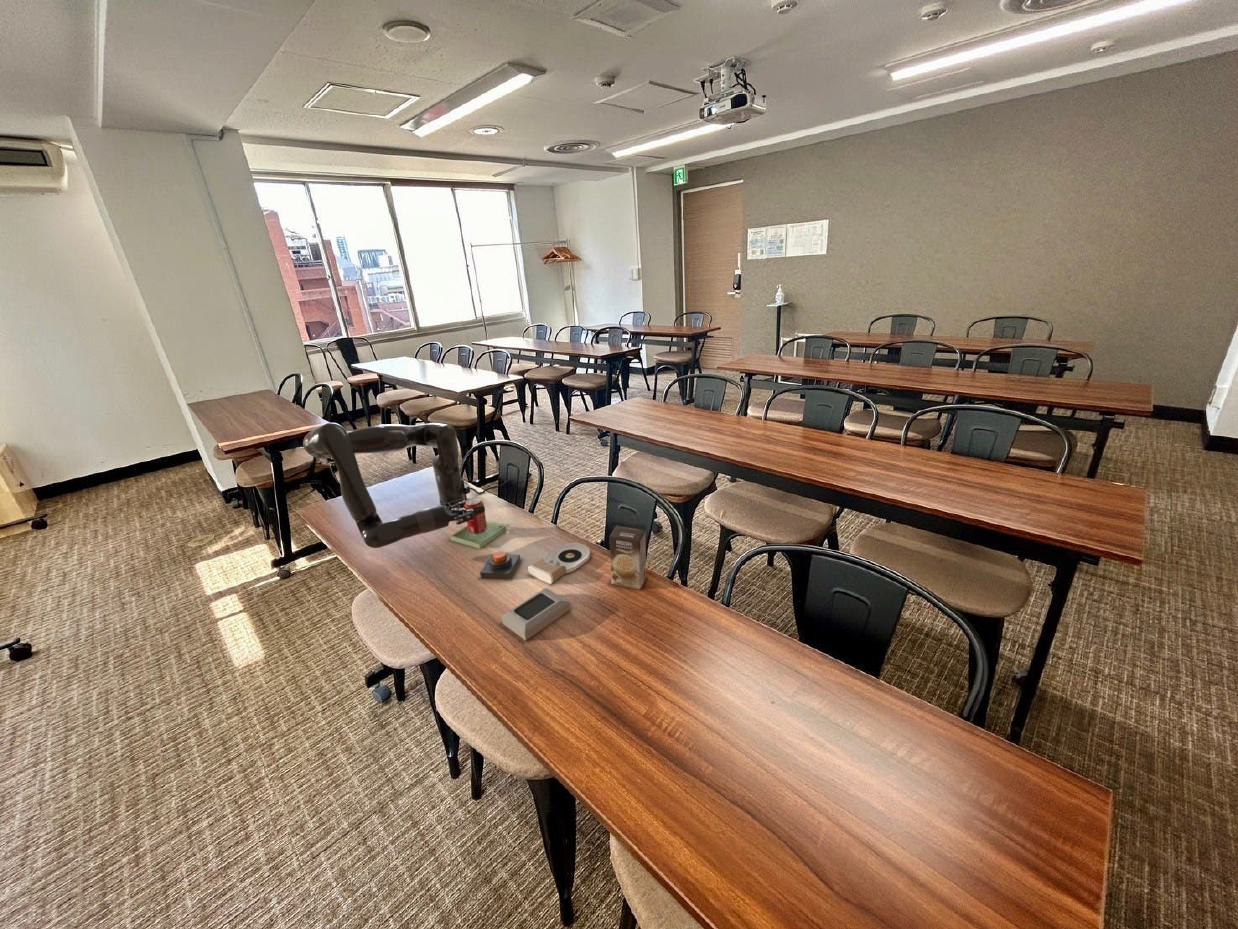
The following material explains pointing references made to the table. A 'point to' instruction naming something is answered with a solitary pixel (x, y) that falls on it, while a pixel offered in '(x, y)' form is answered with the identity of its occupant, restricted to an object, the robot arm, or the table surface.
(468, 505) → the beverage can
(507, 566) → the button box
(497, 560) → the button
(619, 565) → the coffee box
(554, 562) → the record player
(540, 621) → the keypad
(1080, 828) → the table surface
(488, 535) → the tray
